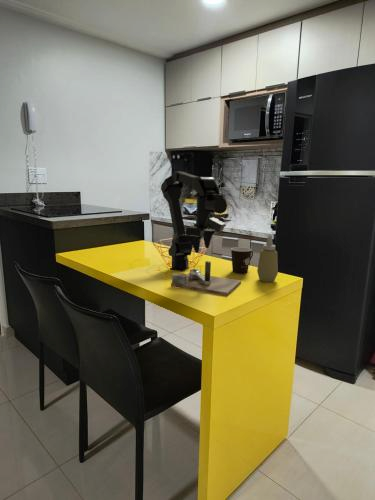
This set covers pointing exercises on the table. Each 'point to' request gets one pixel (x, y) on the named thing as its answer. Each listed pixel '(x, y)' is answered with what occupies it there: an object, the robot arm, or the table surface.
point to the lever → (197, 274)
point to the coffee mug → (241, 259)
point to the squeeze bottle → (268, 262)
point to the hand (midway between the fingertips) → (202, 250)
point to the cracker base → (216, 287)
